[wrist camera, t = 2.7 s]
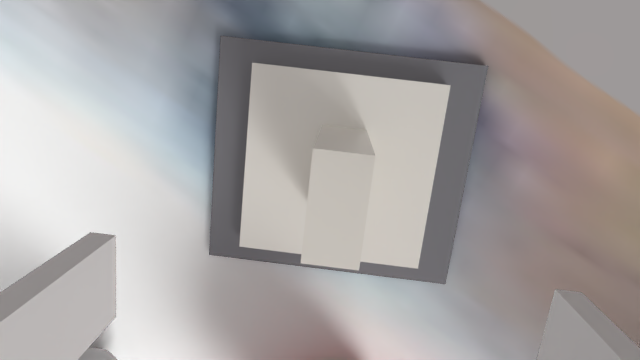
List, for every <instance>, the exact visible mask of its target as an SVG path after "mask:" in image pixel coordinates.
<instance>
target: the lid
mask: <svg viewBox="0 0 640 360" xmlns="http://www.w3.org/2000/svg"><path fill="white" fill-rule="evenodd" d="M450 86H451V85H445V84H437V83H428V82H419V81H410V80H402V79H393V78H384V77H375V76H367V75H358V74H349V73H340V72H331V71H323V70H314V69H305V68H296V67H288V66H279V65H270V64H261V63H252V72H251V87H250V101H249V115H248V129H247V144H246V158H245V172H244V187H243V201H242V215H241V229H240V244H239V247H247V248H255V249H263V250H271V251H279V252H287V253H295V254H301V263H302V264H310V265H318V266H326V267H334V268H342V269H350V270H358V271H359V267H360V262H368V263H376V264H384V265H392V266H400V267H408V268H416V269H418V265H419V260H420V254H421V249H422V243H423V237H424V232H425V226H426V221H427V215H428V209H429V204H430V198H431V193H432V187H433V181H434V176H435V170H436V165H437V159H438V154H439V148H440V142H441V137H442V131H443V126H444V120H445V114H446V109H447V103H448V98H449V92H450Z"/></svg>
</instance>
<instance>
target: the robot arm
mask: <svg viewBox="0 0 640 360" xmlns="http://www.w3.org/2000/svg"><path fill="white" fill-rule="evenodd" d="M115 318H116V235H108V234H99V233H91V232H90V233H89V234H87V235H86V236H84V237H83V238H81V239H80V240H78V241H77V242H75V243H74V244H72V245H71V246H69V247H68V248H66V249H65V250H63V251H62V252H60V253H59V254H57V255H56V256H54V257H53V258H51V259H50V260H48V261H47V262H45V263H44V264H42V265H41V266H39V267H38V268H36V269H35V270H33V271H32V272H30V273H29V274H27V275H26V276H24V277H23V278H21V279H20V280H18V281H17V282H15V283H14V284H12V285H11V286H9V287H8V288H6V289H5V290H3V291H2V292H0V360H78V359H79V358H80V357H81V355H82V354H83V353H84V352H85V351H86V350H87V349H88V348H89V347H90V345H91V344H92V343H93V342H94V341H95V340H96V339H97V338H98V337H99V335H100V334H101V333H102V332H103V331H104V330H105V329H106V328H107V326H108V325H109V324H110V323H111V322H112V321H113V320H114V319H115ZM536 360H640V348H639V347H638V346H637V345H636V344H635V343H634V342H633V341H632V340H631V339H630V338H629V337H628V336H627V335H626V334H625V333H623V332H622V331H621V330H620V329H619V328H618V327H617V326H616V325H615V324H614V323H613V322H612V321H611V320H610V319H609V318H608V317H607V316H606V315H605V314H604V313H603V312H601V311H600V310H599V309H598V308H597V307H596V306H595V305H594V304H593V303H592V302H591V301H590V300H589V299H588V298H587V297H586V296H585V295H584V294H583V293H582V292H574V291H566V290H558V289H555V292H554V296H553V300H552V303H551V307H550V311H549V315H548V318H547V322H546V326H545V330H544V333H543V337H542V341H541V344H540V348H539V352H538V356H537V359H536Z"/></svg>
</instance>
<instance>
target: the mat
mask: <svg viewBox="0 0 640 360" xmlns="http://www.w3.org/2000/svg"><path fill="white" fill-rule="evenodd" d="M252 63H261V64H270V65H279V66H288V67H296V68H305V69H314V70H323V71H331V72H340V73H349V74H358V75H367V76H375V77H384V78H393V79H402V80H410V81H419V82H428V83H437V84H445V85H451V86H450V92H449V98H448V103H447V109H446V114H445V120H444V126H443V131H442V137H441V142H440V148H439V154H438V159H437V165H436V170H435V176H434V181H433V187H432V193H431V198H430V204H429V209H428V215H427V221H426V226H425V232H424V237H423V243H422V249H421V254H420V260H419V265H418V269H416V268H408V267H400V266H392V265H384V264H376V263H368V262H360V267H359V271H358V270H350V269H342V268H334V267H326V266H318V265H310V264H302V263H301V254H295V253H287V252H279V251H271V250H263V249H255V248H247V247H239V244H240V229H241V215H242V201H243V187H244V172H245V158H246V144H247V129H248V115H249V101H250V87H251V72H252ZM487 70H488V66H484V65H475V64H466V63H457V62H449V61H440V60H431V59H422V58H413V57H404V56H395V55H386V54H378V53H369V52H360V51H351V50H342V49H333V48H324V47H316V46H307V45H298V44H289V43H280V42H271V41H262V40H253V39H245V38H236V37H227V36H221V38H220V57H219V76H218V95H217V114H216V134H215V153H214V172H213V191H212V210H211V229H210V248H209V255H216V256H224V257H232V258H240V259H248V260H256V261H264V262H272V263H280V264H288V265H296V266H304V267H312V268H320V269H328V270H336V271H344V272H352V273H360V274H368V275H376V276H384V277H392V278H400V279H408V280H416V281H424V282H432V283H440V284H445V283H446V278H447V273H448V268H449V263H450V258H451V253H452V248H453V242H454V237H455V232H456V227H457V222H458V217H459V212H460V207H461V202H462V197H463V192H464V187H465V182H466V177H467V172H468V166H469V161H470V156H471V151H472V146H473V141H474V136H475V131H476V126H477V121H478V116H479V111H480V106H481V101H482V96H483V90H484V85H485V80H486V75H487Z"/></svg>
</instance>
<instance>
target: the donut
mask: <svg viewBox="0 0 640 360" xmlns="http://www.w3.org/2000/svg"><path fill="white" fill-rule="evenodd" d="M78 360H117V359H116V357H114V356H113V355H112V354H111V353H110V352H109V351H107V350H105V349H100V348H92V347H89V348H88V349H87V350H86V351H85V352H84V353H83V354H82V355H81V357H80V358H79V359H78Z"/></svg>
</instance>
